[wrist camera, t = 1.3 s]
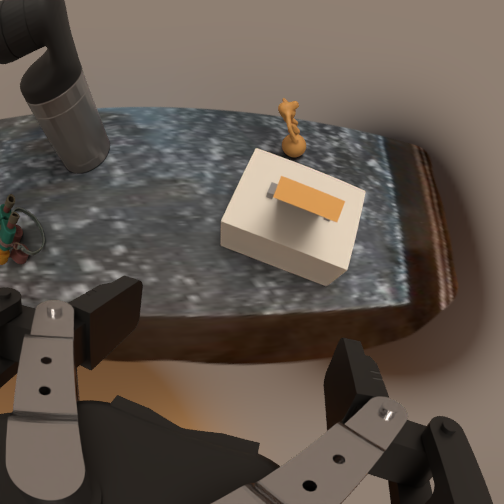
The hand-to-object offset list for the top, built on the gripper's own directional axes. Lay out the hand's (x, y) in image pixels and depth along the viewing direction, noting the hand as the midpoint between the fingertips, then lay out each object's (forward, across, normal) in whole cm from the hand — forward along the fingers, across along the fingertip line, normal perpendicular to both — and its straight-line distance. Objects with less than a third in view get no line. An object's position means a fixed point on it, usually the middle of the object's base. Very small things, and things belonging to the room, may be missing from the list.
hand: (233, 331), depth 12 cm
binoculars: (+24, +38, +12) cm, 47 cm away
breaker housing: (+35, -1, +1) cm, 35 cm away
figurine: (+43, +2, -10) cm, 45 cm away
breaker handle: (+28, -2, -4) cm, 29 cm away
